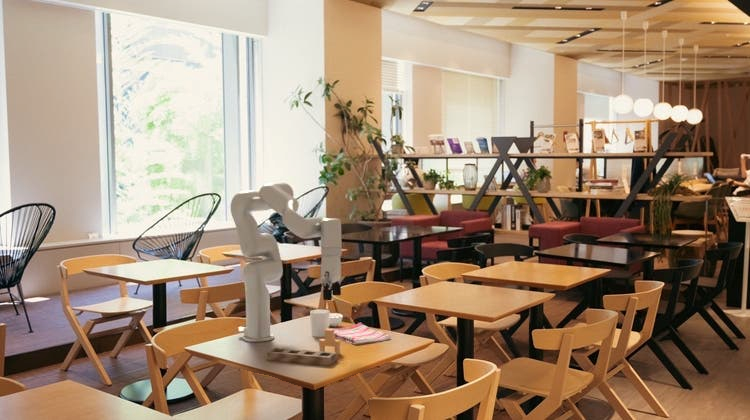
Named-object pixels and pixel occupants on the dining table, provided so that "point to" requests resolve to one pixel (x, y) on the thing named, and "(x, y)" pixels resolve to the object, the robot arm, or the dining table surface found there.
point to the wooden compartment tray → (302, 356)
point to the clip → (329, 341)
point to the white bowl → (334, 319)
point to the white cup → (319, 322)
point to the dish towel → (360, 334)
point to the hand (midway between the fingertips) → (332, 297)
